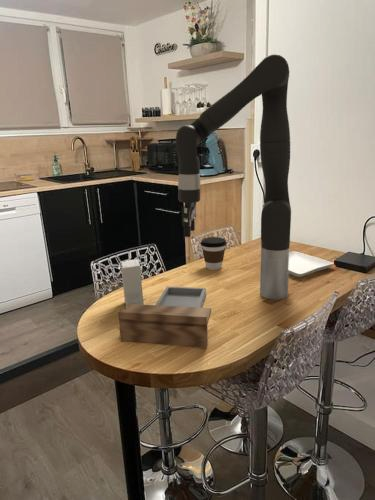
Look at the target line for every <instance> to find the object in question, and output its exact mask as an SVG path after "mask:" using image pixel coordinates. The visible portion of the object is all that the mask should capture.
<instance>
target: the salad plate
mask: <svg viewBox="0 0 375 500" xmlns="http://www.w3.org/2000/svg"><path fill="white" fill-rule="evenodd" d="M334 264H335V263H334V262H332V261H329V260H326V259H324V258H320V257H317V256H314V255H309V254H306V253H302V252H299V251H295V250H294V251H289V267H288V270H289V276H294V277H298V278H301V277H304V276H307V275H312V274H313V273H316V272H319V271H323V270H327V269H328V268H330V267H332V266H333V265H334Z"/></svg>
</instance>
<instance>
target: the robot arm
mask: <svg viewBox="0 0 375 500" xmlns="http://www.w3.org/2000/svg"><path fill="white" fill-rule="evenodd" d="M289 79H290V67H289V63H288V61H287V60H286V58H285V57H283V56H282V55H280V54H270V55H267V56H265V57H264V58H263V59H262V60H261V61H260V62H259V63H258V64H257V66H255V68H254V69H252V70H251V72H250V73H249V74H248V75H247V76H246V77H245V78H243V80H242V81H240V82H239V83H238V84H237V85H236V86H235V87H233V88H232V89H231V90H229V92H227V93H226V94H224V95H223V96H222V97H221V98H220V99H218V100H216V101H215V102H214V103H212V104H211V105H210V106H209V107H207V108H206V109H205V110H204V111H202V112H201V114H200V115H199V117H198V118H196V120H194V121H192V123H190V124H187V125H186V124H185V125H182V126H180V127H179V128H178V130H177V132H176V135H175V146H176V152H177V157H178V177H177V178H178V179H177V188H178V189H177V190H178V192H177V193H178V194H177V197H178V201H179V202H180V203H184V205H183V206H182V207H181V226H183V236H184V238H190V237H191V233H192V232H194V231H195V229H196V224H195V222H196V219H197V203H199V202H200V201H201V176H200V175H201V174H200V173H201V172H200V171H201V170H200V165H201V162H200V157H198V146H199V145H200V144H201V143H203V142H204V141H205V140H206V139H207V138H208V137H209V136H210V135H212V133H214V132H215V131H217V130H219V129H220V128H221V127H223V126H224V125H225V124H227V123H228V122H229V121H231V120H232V119H233V118H234V117H235V116H236V115H237V114H238V113H240V111H242V110H243V109H244V108H245V107H246V106H247V105H248V104H250V103H251V102H252V101H253V100H255V99H257V98H258V97H259V96H261V100H262V101H261V102H262V115H261V122H260V123H261V124H260V131H259V135H260V136H259V148H260V149H259V150H260V154H259V155H260V162H261V170H262V174H263V179H264V203H263V207H262V210H261V214H260V215H261V216H260V217H261V218H260V247H261V248H260V279H259V281H260V282H259V286H260V287H259V295H260V296H261V297H262V298H265V299H268V300H282V299H283V300H284V299H288V297H289V277H290V274H289V270H288V267H289V252H290V244H291V225H292V221H291V220H292V207H291V201H290V195H289V183H288V181H289V172H290V164H291V163H290V162H291V132H290V131H291V130H290V121H289V115H288V104H287V103H288V102H287V101H288V89H289Z"/></svg>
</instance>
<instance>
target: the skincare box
mask: <svg viewBox="0 0 375 500" xmlns="http://www.w3.org/2000/svg"><path fill="white" fill-rule="evenodd" d="M120 265H121V276H122V279H121V280H122V287H123V298H124V303H125V309H127V307H128V306H129V305H130V304H140V305H145V303H144V295H143V294H144V293H143V285H142V274H141V265H140V262H139V260H138V259H130V260H122V261H121V262H120Z"/></svg>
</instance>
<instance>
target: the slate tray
mask: <svg viewBox="0 0 375 500" xmlns="http://www.w3.org/2000/svg"><path fill="white" fill-rule="evenodd" d="M206 298H207V288H206V287H189V286H187V287H185V286H168V285H167V286H166V287H165V288H164V290H163V292H162V294H161V295H160V297H159V298H158V300H157V301H156V303H155V305H159V306H177V307H196V308H204V303H205V301H206Z"/></svg>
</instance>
